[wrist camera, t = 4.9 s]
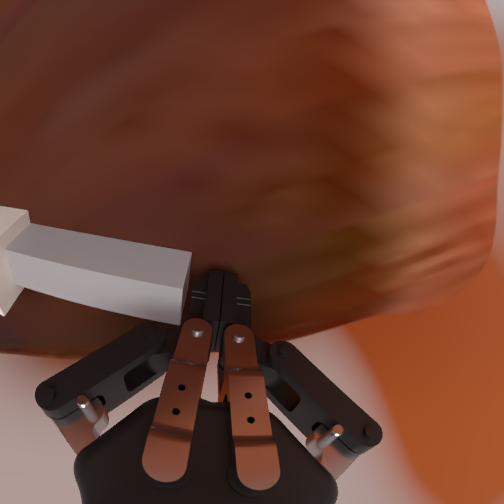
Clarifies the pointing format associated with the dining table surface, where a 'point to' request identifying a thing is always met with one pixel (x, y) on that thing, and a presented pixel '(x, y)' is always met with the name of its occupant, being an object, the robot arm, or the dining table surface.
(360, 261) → the dining table surface
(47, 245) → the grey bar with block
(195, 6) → the dining table surface
